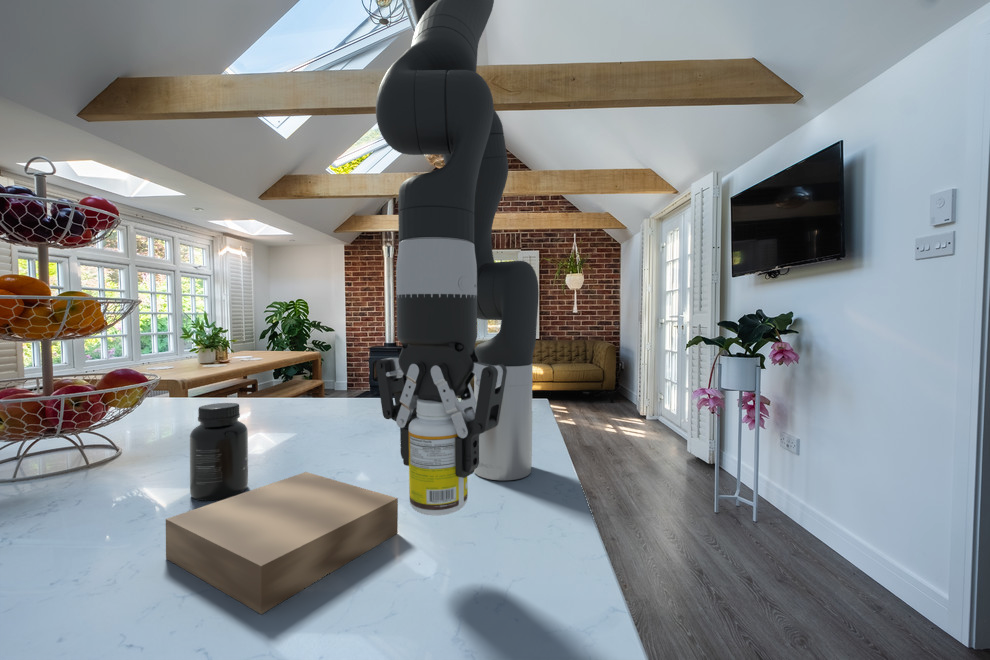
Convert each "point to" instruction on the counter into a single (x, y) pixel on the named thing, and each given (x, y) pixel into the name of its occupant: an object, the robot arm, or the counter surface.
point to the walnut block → (279, 536)
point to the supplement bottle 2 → (434, 462)
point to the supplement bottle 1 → (218, 453)
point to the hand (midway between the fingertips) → (438, 468)
